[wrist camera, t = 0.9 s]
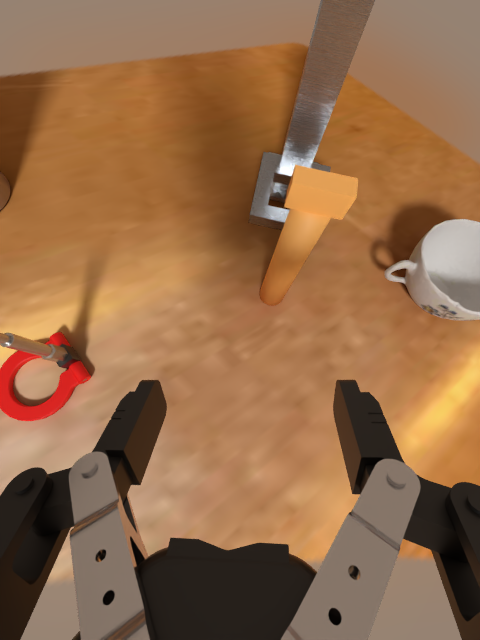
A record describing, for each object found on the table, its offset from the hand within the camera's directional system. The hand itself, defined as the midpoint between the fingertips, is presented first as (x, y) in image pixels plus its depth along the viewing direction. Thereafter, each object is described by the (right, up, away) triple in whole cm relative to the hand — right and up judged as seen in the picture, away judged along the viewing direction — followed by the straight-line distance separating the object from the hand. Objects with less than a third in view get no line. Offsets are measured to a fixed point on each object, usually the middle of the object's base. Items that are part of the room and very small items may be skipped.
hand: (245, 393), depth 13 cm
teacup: (+25, +7, +28) cm, 38 cm away
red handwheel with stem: (-23, -4, +20) cm, 31 cm away
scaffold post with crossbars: (+8, +26, +32) cm, 42 cm away
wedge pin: (+4, +7, +25) cm, 26 cm away
